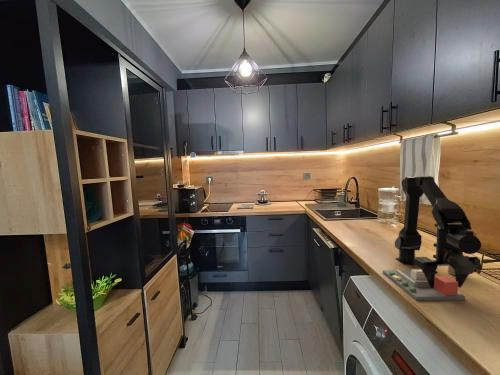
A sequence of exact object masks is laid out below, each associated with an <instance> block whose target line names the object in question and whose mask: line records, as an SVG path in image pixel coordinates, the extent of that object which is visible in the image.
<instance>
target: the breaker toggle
mask: <svg viewBox="0 0 500 375" xmlns="http://www.w3.org/2000/svg"><path fill="white" fill-rule="evenodd" d="M410 270H411V279H412V280H414V281H415V280H427V279H426V277H425V275H424V273H423V271H422V270H421V268H419V269H410Z"/></svg>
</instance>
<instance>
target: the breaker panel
mask: <svg viewBox="0 0 500 375" xmlns="http://www.w3.org/2000/svg"><path fill="white" fill-rule="evenodd" d="M411 270H412V269H386V270H385V269H383V270H382V274H383V275H384V276H386V277H387V278H388V279H390V281H392V282H393V283H394V284H395V285H396V286H398V287H399V288H400V289H401V290H403V291H404V292H405V293H406V294H408V295H409V296H410V297H411V298H413V299H414V300H415V301H446V300H447V301H454V300H455V301H456V300H459V301H461V300H463V301H464V300H466V296H465V295H464V294H462V293H461V292H460V291H458V295H443V294H442V293H440V292H439V291H437V290H436V289H434V288H431V287H430V285H429V283H428V281H427V280H415V281H414V280H412V279H411Z"/></svg>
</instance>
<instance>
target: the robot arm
mask: <svg viewBox="0 0 500 375" xmlns="http://www.w3.org/2000/svg"><path fill="white" fill-rule="evenodd" d="M401 187H402V192H403V193H404V194H405V197H406V198H405V209H404V220H403V221H404V222H403V223H404V224H403V227H402V228H401V229H400V231H399V232H398V236H397V237H396V239H395V241H394V248H396V249H397V250H398V257H395V260H397V261H399V263H402V265H413V266H416V267H417V268H419V269H421V270H422V271H423V273H424V275H425V277H426V279H427V281H428V283H429V285H430V287H431V288H434V280H435V276H436V275H437V274H438V273H439V272H438V271H437V270H438V267H448V266H451V267H452V268H453V269H454V270H455V275H454V276H455V281H457V282H458V289H461V288H462V286H464V283H465V281H466V280H467V278H468V276H470V275H472V274H473V273H477V272H478V271H482V262H481V259H480V258H479V257H478V256H469V255H473V254H476V253H477V252H479V251H480V250H481V248H482V241H481V240H480V239H479V237H477V236H475V235H474V234H475V232H474V231H473V230H472V223H471V222H470V220H469V218H468V217H467V215H466V212H465V211H464V209H463V208H462V207H461V206H460V205H459V204H458V203H457V202H455V201H453V200H450V199H449V198H448V197H447V196H446V194H445V193H444V192H443V190H442V189H441V188H440V187H439V186H438V184H437V183H436V181H435V178H434V177H433V176H432V175H419V176H406V177H404V178H403V179H402V180H401ZM423 195H424V196H425V197H426V199H427V200H428V201H429V203H430V204H431V206H432V209H431V214H432V216H433V219H434V220H435V222H436V223H435V224H434V227H435V228H436V242H435V243H433V247H434V248H436V250H435V254H433V255H432V258H433V259H430V258H428V257H427V256H416V251H420V250H421V246H422V242H423V241H422V238H423V236H422V234H420V232H419V231H418V222H419V210H420V202H421V201H420V200H421V197H422V196H423ZM464 254H467V255H464Z"/></svg>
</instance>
